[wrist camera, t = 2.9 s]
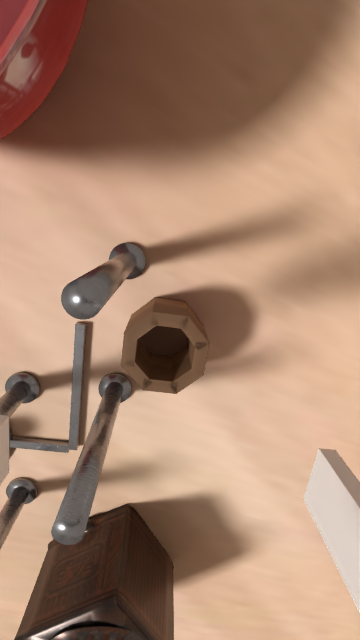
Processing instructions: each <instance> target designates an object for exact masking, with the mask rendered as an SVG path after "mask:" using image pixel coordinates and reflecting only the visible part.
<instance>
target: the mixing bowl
mask: <svg viewBox="0 0 360 640" xmlns="http://www.w3.org/2000/svg"><path fill="white" fill-rule="evenodd" d="M87 1H88V0H0V139H1V138H3V137H5V136H6V135H8V134H9V133H11V132H12V131H13V130H15V129H16V128H17V127H19V126H20V125H21V124H22V123H23V122H24V121H25V120H26V119H27V118H28V117H29V116H30V115H31V114H32V113H33V112H34V111H35V110H36V109H37V108H38V107H39V106H40V105H41V104H42V103H43V101H44V100H45V98H46V97H47V95H48V94H49V92H50V91H51V89H52V88H53V86H54V85H55V83H56V81H57V80H58V78H59V77H60V75H61V73H62V71H63V70H64V68H65V66H66V63H67V61H68V58H69V56H70V53H71V51H72V48H73V46H74V43H75V41H76V38H77V35H78V33H79V30H80V28H81V24H82V21H83V17H84V13H85V10H86V6H87Z"/></svg>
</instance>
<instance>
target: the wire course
mask: <svg viewBox="0 0 360 640" xmlns="http://www.w3.org/2000/svg"><path fill="white" fill-rule="evenodd" d="M144 267H145V256H144V253H143V252H142V250H141V249H140V248H139V247H138V246H136V245H134V244H132V243H122V244H119V245H117V246H116V247H115V248H114V249H113V250H112V252H111V254H110V257H109V261H107V262H105V263H104V264H102V265H100V266H98V267H97V268H95V269H93V270H91V271H90V272H88V273H86V274H84V275H83V276H81V277H79V278H77V279H76V280H74V281H72V282H70V283H69V284H68V285H66V287H65V288H64V289H63V292H62V295H61V301H62V305H63V307H64V309H65V310H66V312H67V313H68V314H69V315H71V316H72V317H74V318H77V319H89V318H92V317H94V316H95V315H96V314H97V313H98V312H99V311H100V310H101V309H102V307H103V306H104V305H105V304H106V302H107V301H108V300H109V299H110V297H111V296H112V295H113V294H114V293H115V291H116V290H117V289H118V288H119V286H120V285H121V284H122V283H123V282H124V280H125V279H133V278H136V277H137V276H139V275H140V274H141V273H142V271H143V270H144ZM85 338H86V323H79V322H77V323H76V324H75V342H74V360H73V378H72V396H71V413H70V431H69V442H65V441H55V440H45V439H35V438H24V437H14V436H13V437H12V438H11V440H10V447H12V448H23V449H34V450H44V451H55V452H65V453H68V452H69V450H77V448H78V444H79V429H80V414H81V399H82V383H83V368H84V353H85ZM5 389H6V393H5V394H4V395H3V396H2V397H1V398H0V415H6V416H9V418H10V416H11V415H12V414H13V413H14V412H15V410H16V409H17V408H18V407H19V405H20V404H21V403H29V402H31V401H33V400H34V399H35V398H36V397H37V396H38V394H39V392H40V385H39V382H38V380H37V379H36V378H35V377H34V376H33V375H31V374H29V373H25V372H19V373H15V374H13V375H12V376H11V377H10V378H9V379H8V380H7V382H6V385H5ZM130 392H131V383H130V381H129V380H128V378H127V377H125V376H124V375H122V374H119V373H110V374H108V375H106V376H104V377H103V378H102V380H101V382H100V384H99V393H100V395H101V397H102V400H101V403H100V405H99V408H98V410H97V413H96V416H95V418H94V421H93V423H92V426H91V429H90V431H89V434H88V436H87V439H86V442H85V444H84V447H83V449H82V452H81V455H80V457H79V460H78V462H77V465H76V468H75V470H74V473H73V475H72V478H71V481H70V483H69V486H68V488H67V491H66V494H65V496H64V499H63V501H62V504H61V507H60V509H59V512H58V514H57V517H56V520H55V522H54V525H53V527H52V531H51V533H52V536H53V538H54V539H55V540H56V541H57V542H59V543H61V544H64V545H73V544H76V543H78V542H80V541H81V540H82V538H83V536H84V533H85V529H86V525H87V522H88V518H89V514H90V511H91V507H92V503H93V500H94V496H95V492H96V489H97V485H98V481H99V478H100V474H101V470H102V467H103V463H104V459H105V456H106V452H107V448H108V445H109V441H110V437H111V434H112V430H113V426H114V423H115V419H116V416H117V412H118V408H119V405H120V403H121V402H123V401H125V400H126V399H127V398H128V397H129V395H130ZM6 494H7V496H8V500H7V502H6V504H5V505H4V507H3V509H2V510H1V512H0V549H1V547H2V545H3V544H4V542H5V540H6V538H7V536H8V534H9V532H10V530H11V528H12V526H13V524H14V522H15V520H16V518H17V517H18V515H19V513H20V511H21V509H22V507H23V505H24V504H27V503H30V502H32V501H33V500H34V499H35V497H36V495H37V486H36V485H35V483H34V482H32V481H31V480H29V479H26V478H16V479H14V480H12V481H11V482H10V483H9V485H8V486H7V489H6Z"/></svg>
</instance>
